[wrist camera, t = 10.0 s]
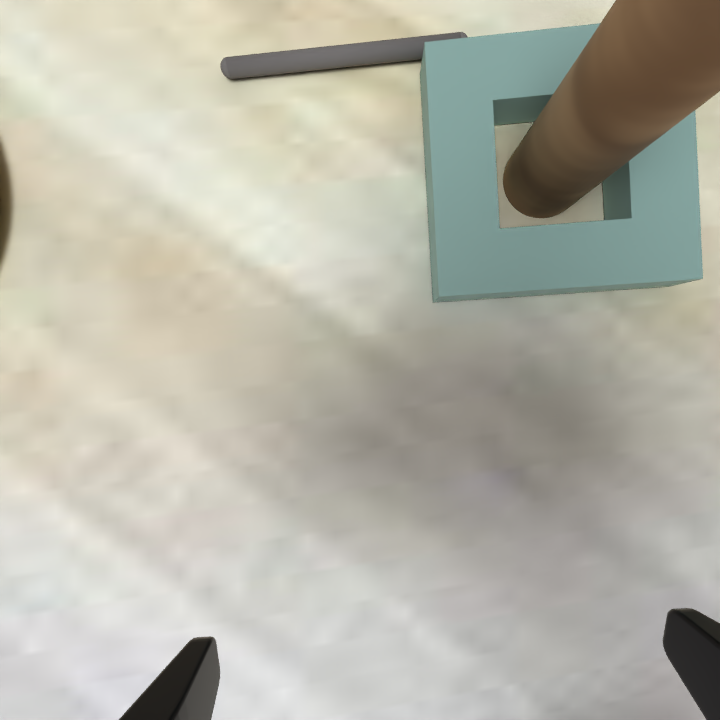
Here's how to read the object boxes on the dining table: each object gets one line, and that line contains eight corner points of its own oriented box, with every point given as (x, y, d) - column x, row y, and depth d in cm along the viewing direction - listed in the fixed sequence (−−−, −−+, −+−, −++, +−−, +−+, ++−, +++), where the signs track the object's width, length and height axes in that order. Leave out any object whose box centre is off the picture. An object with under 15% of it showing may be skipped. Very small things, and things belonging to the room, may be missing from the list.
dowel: (595, 160, 19) (1217, -394, 5) (559, 230, 19) (1060, -110, 5) (525, 127, 19) (931, -502, 5) (489, 197, 19) (787, -223, 5)
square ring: (657, 50, 19) (690, 13, 17) (668, 286, 19) (703, 278, 17) (419, 74, 19) (424, 41, 17) (432, 302, 19) (439, 296, 17)
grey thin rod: (465, 41, 19) (469, 26, 18) (466, 59, 19) (470, 44, 18) (224, 67, 20) (217, 53, 19) (225, 83, 20) (218, 71, 19)
